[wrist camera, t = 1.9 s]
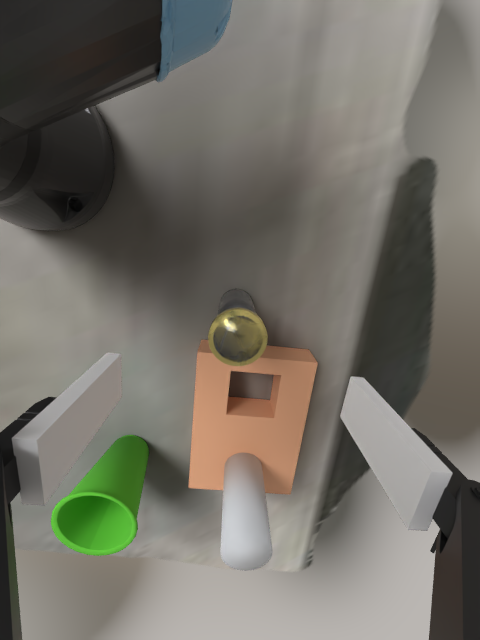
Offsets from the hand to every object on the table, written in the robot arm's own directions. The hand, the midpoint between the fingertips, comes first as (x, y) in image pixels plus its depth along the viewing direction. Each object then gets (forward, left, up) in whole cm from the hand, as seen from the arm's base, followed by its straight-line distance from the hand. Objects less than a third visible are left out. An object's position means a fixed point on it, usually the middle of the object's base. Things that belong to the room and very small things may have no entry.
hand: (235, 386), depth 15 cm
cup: (+23, -13, -19) cm, 32 cm away
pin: (0, 0, -19) cm, 19 cm away
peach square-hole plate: (+15, +3, -19) cm, 24 cm away
